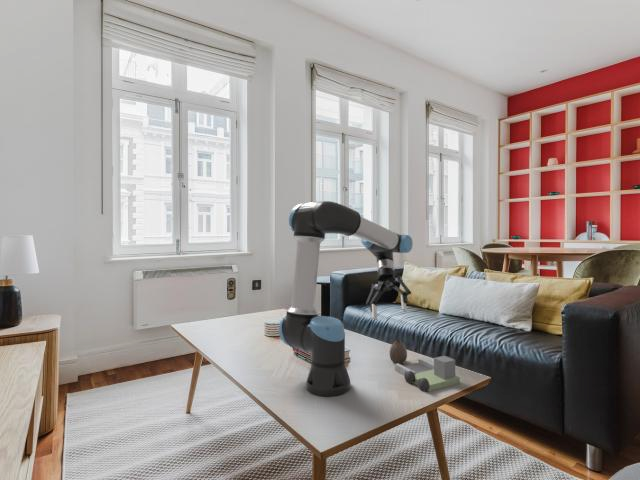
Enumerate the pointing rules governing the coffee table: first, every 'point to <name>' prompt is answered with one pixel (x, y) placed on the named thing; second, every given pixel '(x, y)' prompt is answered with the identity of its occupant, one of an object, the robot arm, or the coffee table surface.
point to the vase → (398, 352)
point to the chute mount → (415, 367)
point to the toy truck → (435, 375)
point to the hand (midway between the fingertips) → (389, 314)
